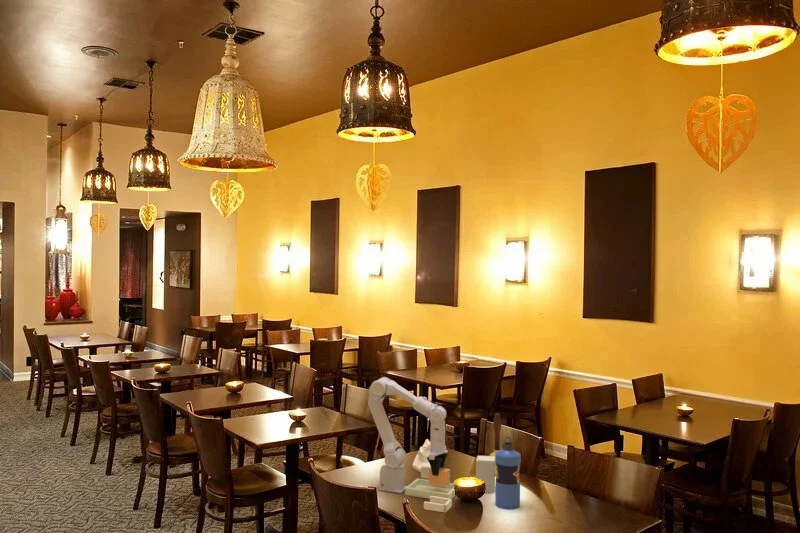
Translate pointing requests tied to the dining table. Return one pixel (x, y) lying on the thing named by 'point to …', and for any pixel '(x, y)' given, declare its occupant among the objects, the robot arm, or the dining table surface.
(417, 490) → the tray
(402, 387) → the robot arm
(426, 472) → the orange and grey block
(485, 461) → the supplement box
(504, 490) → the water bottle
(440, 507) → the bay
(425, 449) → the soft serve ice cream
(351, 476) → the dining table surface
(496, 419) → the handbell
